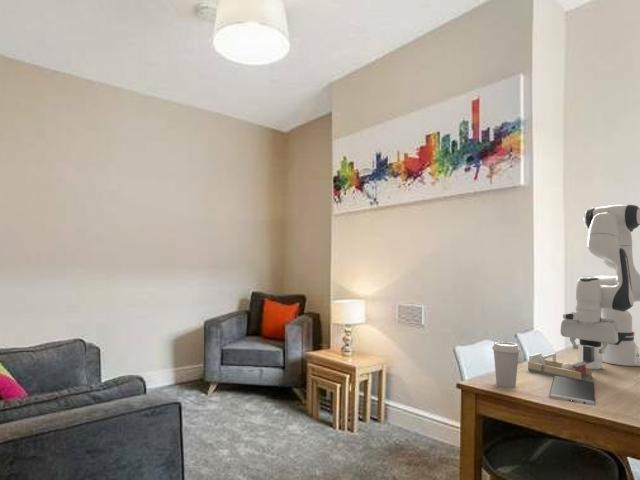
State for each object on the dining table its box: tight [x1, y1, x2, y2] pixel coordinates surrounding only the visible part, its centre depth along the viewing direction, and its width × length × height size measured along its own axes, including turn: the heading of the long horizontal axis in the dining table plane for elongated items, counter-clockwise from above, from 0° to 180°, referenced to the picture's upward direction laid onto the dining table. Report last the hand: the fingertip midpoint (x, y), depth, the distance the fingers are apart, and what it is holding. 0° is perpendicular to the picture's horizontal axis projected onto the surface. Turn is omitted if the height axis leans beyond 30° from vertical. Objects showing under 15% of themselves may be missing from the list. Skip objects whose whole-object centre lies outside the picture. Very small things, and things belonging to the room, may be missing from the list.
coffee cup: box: [491, 341, 521, 388], centre depth 161 cm, size 10×10×15 cm
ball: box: [561, 362, 573, 370], centre depth 175 cm, size 4×4×4 cm
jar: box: [577, 339, 604, 370], centre depth 190 cm, size 9×8×12 cm
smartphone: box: [548, 376, 596, 406], centre depth 156 cm, size 13×27×2 cm, turn 149°
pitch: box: [527, 352, 593, 381], centre depth 178 cm, size 11×20×7 cm, turn 38°
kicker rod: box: [571, 345, 594, 376], centre depth 173 cm, size 15×3×10 cm, turn 128°
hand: (588, 351), depth 176 cm, fingers open, 8 cm apart
